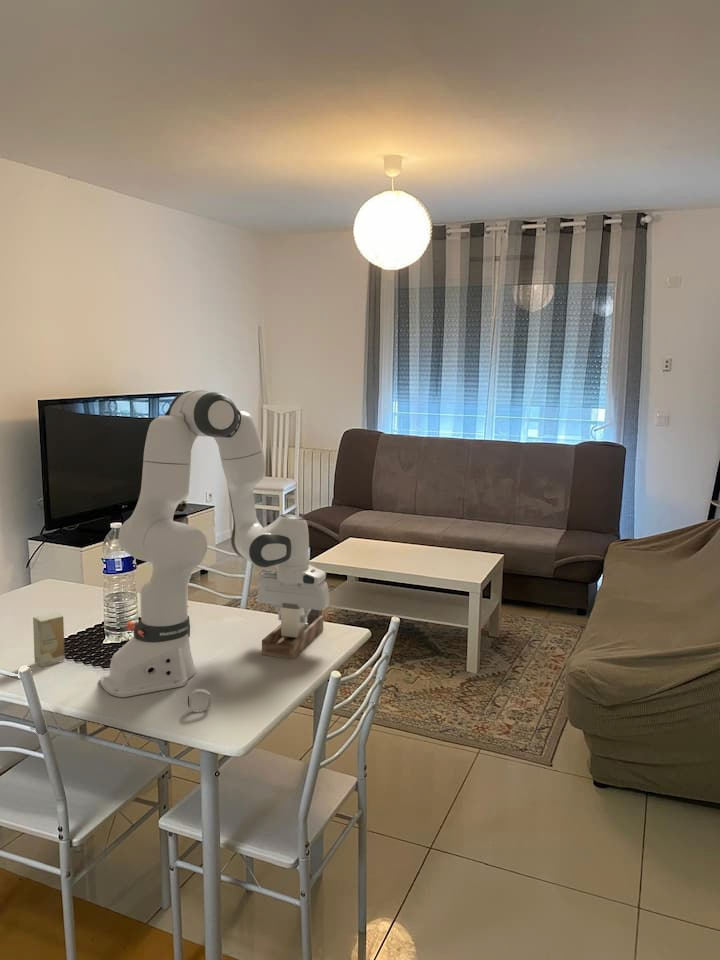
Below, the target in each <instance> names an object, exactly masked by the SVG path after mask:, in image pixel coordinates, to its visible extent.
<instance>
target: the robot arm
mask: <svg viewBox="0 0 720 960" xmlns="http://www.w3.org/2000/svg"><path fill="white" fill-rule="evenodd" d="M198 437H212V438H213V439H214V440H215V442H216V445H217V446H218V452H219V457H220V463H221V466H222V470H223V473H224V477H225V480H226V483H227V484H226V485H227V488H228V495H229V501H230V508H231V513H232V521H233V527H232V533H231V537H230V539H231V542H230V543H231V547H232V549H233V551H234V552H235V554H237V555H238V556H239V557H241V558H243V559H245V560H247V561H249V562H250V563H252V564H253V565H255V566H257V567H261V568H269V567H273V566H276V570H268V569H263V570H260V571H259V573H258V575H257V582H258V586H257V597H256V599H257V602H258V603H260V604H266V605H267V604H268V605H274V609H275V612H276V613H277V614H278V621H281V607H283V603H288V604H296V605H298V607H299V608H304V612H306V613H305V614H304V615H302V616H301V617H300V623H306V622H307V616H308V614H309V613H310V611H311V609H316V610H320V611H324V610H325V609H326V608H328V606H329V605H330V592H329V587H328V586H329V585H328V582H327V581H325V580H326V577H327V573H326V572H325V570H322V569H319V568H318V567H315V566H313V565H310V560H309V556H308V552H309V549H310V548H309V547H310V534H309V528H308V527H309V526H308V522H307V520H306V519H305V518H304V517H301V516H299V515H295V514H291V513H284V514H283V513H282V514H280V515H279V516H278V517H276V519H275V520H274V521H273V522H271V523H270V524H268V525H266V526H265V527H263V525H262V524H261V523H260V521H259V520H258V517H257V513H256V512H257V511H256V505H255V498H254V489H255V487H256V486H257V485H258V484H259V483H260V482H261V481H262V480H263V479H264V477H265V475H266V456H265V452H264V448H263V442H262V439H261V435H260V433H259V431H258V427H257V425H256V422H255V420H254V418H253V415H252V414H250V413H249V412H247V411H245V410H239V409H238V408H237V405H235V403H234V402H233V400H231V398H230V397H229V396H227V395H225V394H223V393H220V392H216V391H212V392H211V391H209V390H200V389H199V390H187V391H183V392H181V393H179V394H178V395H176V396H175V397H174V398H173V400H172V401H171V402H170V404H169V407H168V409H167V411H166V412H165V414H164V415H161V416H158V417H156V418H154V419H153V420H152V421H151V422H150V424H149V426H148V430H147V433H146V437H145V438H146V439H145V444H144V450H143V458H142V459H143V460H142V462H143V463H142V474H141V476H142V477H141V484H140V485H141V486H140V491H139V493H140V494H139V496H138V500H137V503H136V506H135V508H134V510H133V512H132V514H131V516H130V517H129V518H128V519H126V520H125V521H124V522H123V524H121V526H120V528H119V531H118V536H117V537H118V538H117V539H118V544H119V547H120V548H121V549H122V551H123V552H124V553H126V554H127V555H129V556H130V557H133V558H135V559H136V560H140V561H142V562H146V563H147V562H148V563H150V564H151V565H152V572H151V577H150V579H149V580H148V581H147V582H146V583H144V585H143V586H142V587H141V589H140V594H139V596H140V619H139V622H137V623H135V622H134V621H133V620H131V621H127V623H126V628H127V629H128V630H129V631H131V632H133V636H132V637H131V638H130V639H129V640H128V641H127V642H126V643H125V644H124V645H123V646H122V647H121V648H119V649H118V650H117V651H116V652H114V654H113V655H112V656H111V660H110V665H109V671H106V672H104V673H102V674H101V676H100V686H101V687H102V688H103V690H105V692H107V693H109V694H110V695H111V696H113V697H114V696H115V697H117V698H127V697H131V696H133V697H134V696H138V695H144V694H147V693H148V694H149V693H153V692H159V691H164V690H170V689H174V688H180V687H184V686H185V685H186V684H187V682H188V681H189V680H190V678H192V677H193V676H194V675H195V674H196V671H197V669H196V666H195V663H194V659H193V657H192V656H193V655H192V650H191V646H190V645H191V643H190V637H191V622H190V621H191V620H190V616H189V614H188V608H187V605H188V594H189V593H188V591H189V583H190V580H191V577H192V575H193V572H194V570H195V569H196V568H197V567H198V566H199V565H200V566H201V564H202V563H203V562H204V560H205V558H206V557H207V552H208V539H207V537H206V535H205V534H204V533H203V532H202V531H201V530H200V529H198V528H196V527H194V526H192V525H190V524H188V523H186V522H185V523H184V522H181V521H180V522H179V521H175V520H174V516H175V512H176V510H177V508H178V506H179V504H180V503H182V502H184V500H186V499H187V498H188V496H189V493H190V481H191V480H190V479H191V466H192V465H191V464H192V450H193V449H192V448H193V445H194V443H195V440H197V438H198Z"/></svg>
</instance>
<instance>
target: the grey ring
mask: <svg viewBox="0 0 720 960" xmlns="http://www.w3.org/2000/svg"><path fill="white" fill-rule="evenodd" d="M197 693H203V694H206V695H208V704H207V705H206V706H204V707H202V708H199V709H198V708H197V709H196V708H194V707H192V706H191V705H192V696H193V695H194V694H197ZM211 704H212V696H211V693H210V692H209V690H206V689H203V688H197V689H196V688H195V689H193V690H192V691H191V692H190V693H189V694H188V696H187V708H188V710H190V711H192V712H193V713H196V714H197V713H198V712H200V713H203V712H205V711H207V710H208V709H209V708H210V707H211ZM198 714H199V713H198Z"/></svg>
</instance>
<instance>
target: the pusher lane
mask: <svg viewBox="0 0 720 960" xmlns="http://www.w3.org/2000/svg"><path fill="white" fill-rule="evenodd" d="M305 613H306V612H305ZM306 623H308V627H307V628H306V629H305V630H304V631H303V632H302V633H301V634H300V635H299V636H298V637H297V638H296V637H288V636H281V623H280V624H279V625H278V626H277V627H276V628H275V629H273V630H271V632H270V633H269V634H267V635H266V636H265V637H264V638H263V639H262V640H261V655H262V656H267V655H268V657H274V656H275V657H277V658H281V657H283V659H289V660H294V659H295V658H296V657H297V656H298V655H300V653H301V652H302V651H303V650H304V649H305V648H306V647H307V646H308V645H309V644H310V643H312V641H313V640H314V639H315V638H316V637H317V636H318V635H319V634H320V633H321V632H322V631H323V630H324V615H321V610H316V609H311V611H310V613H309V614H308V616H307V622H306Z"/></svg>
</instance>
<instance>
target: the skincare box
mask: <svg viewBox="0 0 720 960" xmlns="http://www.w3.org/2000/svg"><path fill="white" fill-rule="evenodd" d="M32 622H33V623H32V624H33V626H32V627H33V651H34V652H33V654H34V656H33V657H34V664H36V665H37V666H38V667H40V668H45V667H47V665H48V666H51V664H52V665H55V664H58V663H57V662H59V663H61V662H60V661H63V660H65V661H66V659H65V658H66V657H65V630H64V627H65V625H64V615H62V614H61V613H58V612H56V611H55V612H52V613H47V614H42V615H38V616H33V617H32ZM63 662H64V661H63ZM54 663H55V664H54ZM44 666H45V667H44Z"/></svg>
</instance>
